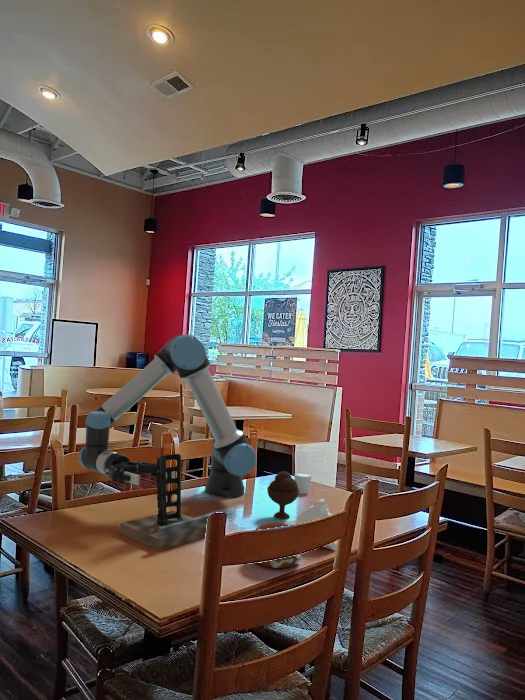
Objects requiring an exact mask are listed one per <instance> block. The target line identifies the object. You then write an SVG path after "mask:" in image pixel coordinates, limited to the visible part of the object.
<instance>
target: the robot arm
mask: <svg viewBox="0 0 525 700" xmlns="http://www.w3.org/2000/svg"><path fill="white" fill-rule="evenodd" d="M153 358H154V359H152V361H151V362H149V363H148V364H147V365H146V366H145V367H143V369H141V370H140V371H139V372H138V373H137V374H136V375H135V376H133V377H132V378H131V379H130V380H129V381H128V382H127V383H125V385H123V386H122V387H121V388H119V390H118V391H116V392H115V393H114V394H113V395H112V396H110V398H108V399H107V400H106V401H105V402H103V404H101V406H99V407H98V408H96V410H94V411H90V412H88V413H87V417H86V419H85V442H84V443H85V445H84V446H83V447H82V448H81V449H80V451H79V452H78V454H77V459H78V464H80V465H81V467H83V468H85V469H87V470H89V471H93V472H97V473H100V474H104V475H105V476H106V477H109V479H110V480H111V481H112V482H116V481H117V480H118V482H117V483H118V484H122V483H123V482H125V483H129V484H132V485H134V486H140V482H141V475H140V474H141V473H142V474H144V473H145V474H156V475H157V463H156V462H147V461H142V460H139V461H136V462H135V461H133V460H130V459H129V457H128V456H127V455H125V454H122V453H119V452H116V451H111V450H109V447H110V446H109V445H110V443H109V440H110V428H111V426H112V425H114V423H115V422H116V421H117V420H118V419H120V418H121V417H122V416H124V414H125V413H126V412H128V410H130V409H131V408H133V406H134V405H136V404H137V403H138V402H139V401H141V399H142V398H144V396H145V395H147V394H148V393H149V392H150V391H151V390H152V389H154V387H156V386H157V385H158V384H159V383H161V382H162V381H163V380H164V379H165V378H166V377H167V376H169V375H171V376H173V374H175V373H176V372H177V375H178V377H179V378H180V379H181V380H183V381H186V383H187V384H188V387H189V389H190V391H191V393H192V395H193V396H194V400H195V401H196V403H197V405H198V407H199V410H200V411H201V413H202V416H203V418H204V419H205V421H206V424H207V425H208V428H209V430H210V432H211V434H212V436H213V438H212V440H211V441H212V446H211V447H212V448H211V463H210V473H209V476H208V478H207V480H206V481H207V482H206V483H205V485H204V493H205V494H207V495H209V496H212V497H217V498H237V497H238V498H239V497H242V496H243V495H244V494H245V486H244V482H243V476H246V475H247V474H249V473H250V472H251V471H253V469H254V467H255V466H256V464H257V453H256V451H255V449H254V448H253V446H252V445H250V444H249V442H248V439H247V437H246V435H245V434H244V431H243V430H240V429H238V428H237V426H236V424H235V422H234V420H233V418H232V416H231V414H230V412H229V410H228V407H227V406H226V403H225V401H224V400H223V399H224V398H223V397H222V395H221V393H220V390H219V389H218V387H217V385H216V383H215V381H214V378H213V377H212V374H211V372H210V371H209V370H210V367H211V361H210V360H209V358H208V356H207V350H206V347H205V344H204V342H203V341H202V340H201V339H200V338H199V337H197V336H195V335H194V334H193V335H192V334H179V335H176V336H174V337H172V338H170V339H169V341H168V342H166V344H164V346H163V347H162V348H161V349H160V350H158V352H157V353H156V354H154V357H153ZM166 468H168V467H167V466H166ZM137 470H138V471H137ZM166 478H167V472H166ZM172 478H173V479H174V478H176V471H172Z"/></svg>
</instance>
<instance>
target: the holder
mask: <svg viewBox="0 0 525 700" xmlns="http://www.w3.org/2000/svg"><path fill="white" fill-rule="evenodd" d="M155 459H156V462H155V463H156V464H157V474H156V484H157V486H156V488H157V494H156V500H157V509H158V510H157V514H156V515H157V523H158V525H159V526H164V525H169V524H173V523H177V522H180V521H184V520H183V519H182V518H181V514H182V513H181V510H182V509H181V507H182V502H181V500H182V456H181V454H180V453H173V454H164V455H161V456H158V457H157V456H156V458H155ZM171 460H175V461H176V465H175V466H169V467H167V461H171ZM166 467H167V468H166ZM172 471H175V473H176V477H175V478H174V479H173V478H172ZM166 472H167V477H166ZM167 484H176V488H175V489H174V490H173V489H172V490H167ZM173 495H175V496H176V500H175V501H172V500H173V499H172V497H173ZM170 507H171V508H172V507H176V511H175V512H176V513H173V514H166V512H167V508H170ZM173 518H177V521H171V520H168V519H173ZM163 524H164V525H163Z"/></svg>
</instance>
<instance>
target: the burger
mask: <svg viewBox="0 0 525 700" xmlns="http://www.w3.org/2000/svg"><path fill="white" fill-rule="evenodd" d="M281 526H288V525H286V524H284V522H283V523H282V522H278V521H277V522H275V521H274V522H265V523H264V524H263V523H262V524H261V525H259V526H257V527H256V528H255V530H258V529H267V528H275V527H281ZM301 560H302V553H301V554H299V555H296V556H291V557H286V558H282V559H277V560H272V561H267V562H262V563H257V564H259V565H261V566H263V567H268V568H273V569H277V568H278V569H281V568H283V569H284V568H288V567H292V566H293V565H295V564H296V563H298V562H299V561H301Z"/></svg>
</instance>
